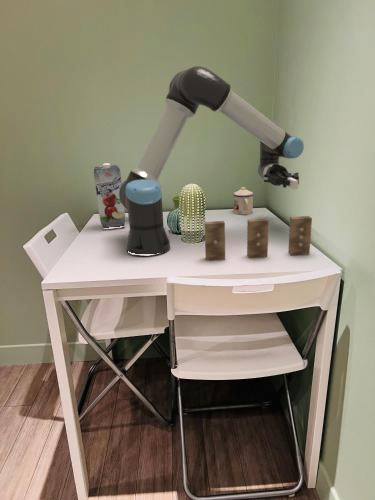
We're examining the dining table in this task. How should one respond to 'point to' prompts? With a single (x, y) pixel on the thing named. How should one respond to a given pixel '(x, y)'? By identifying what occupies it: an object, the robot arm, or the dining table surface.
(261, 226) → the tile
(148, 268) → the dining table surface
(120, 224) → the juice carton
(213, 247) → the tile
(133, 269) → the dining table surface
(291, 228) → the tile
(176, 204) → the plant pot
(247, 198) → the teacup with lid
